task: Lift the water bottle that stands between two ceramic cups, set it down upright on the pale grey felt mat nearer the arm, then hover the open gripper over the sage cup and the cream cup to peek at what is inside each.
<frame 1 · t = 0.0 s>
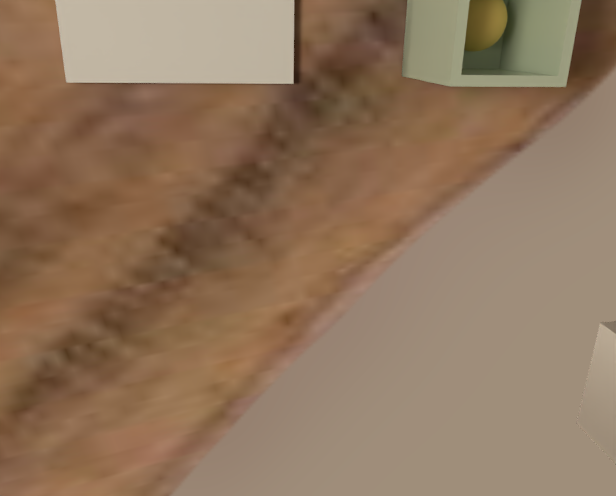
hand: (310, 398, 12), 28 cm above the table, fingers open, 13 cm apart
mustard ball: (463, 21, 36), point 1 cm above the table, touching sage cup
sage cup: (456, 21, 37), on the table
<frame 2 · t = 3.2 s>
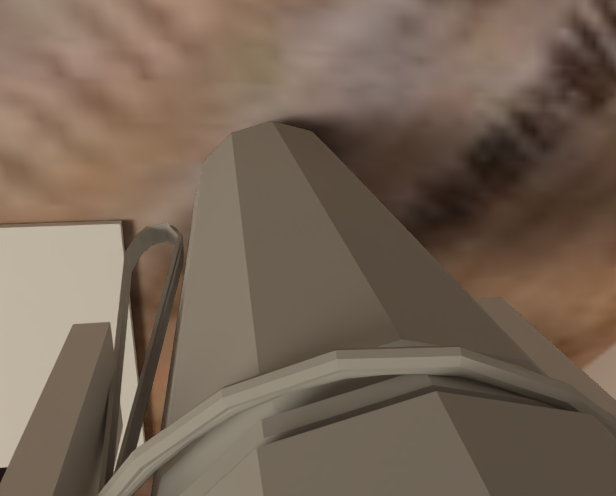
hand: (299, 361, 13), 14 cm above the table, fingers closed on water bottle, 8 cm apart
water bottle: (251, 194, 26), on the table, touching gripper
when the fingers open (16 cm above the table, at t = 8.4 s): water bottle stays where it is, resting on felt mat.
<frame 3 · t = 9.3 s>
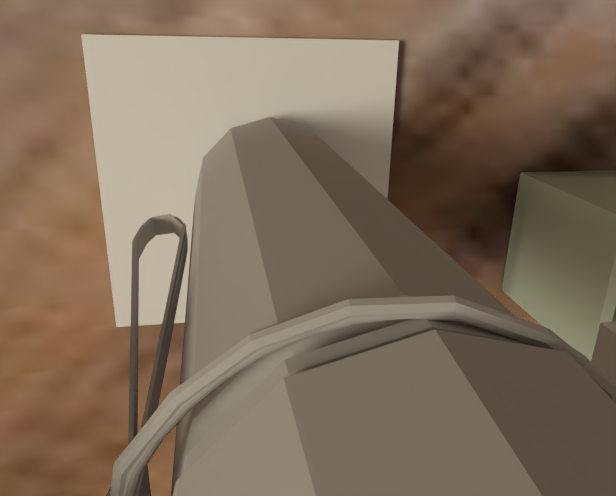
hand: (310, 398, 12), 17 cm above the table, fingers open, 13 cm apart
sage cup: (567, 231, 31), on the table
water bottle: (249, 188, 27), resting on felt mat
felt mat: (249, 188, 27), on the table
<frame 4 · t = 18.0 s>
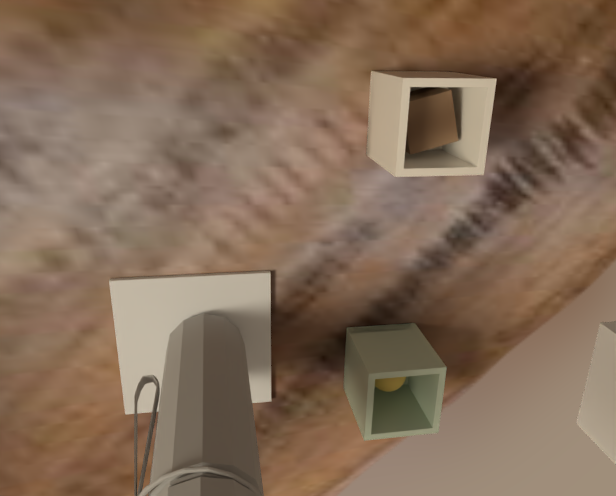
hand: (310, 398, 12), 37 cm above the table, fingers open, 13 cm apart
mustard ball: (382, 362, 55), point 1 cm above the table, touching sage cup
walnut block: (412, 115, 46), point 1 cm above the table, touching cream cup
sage cup: (378, 355, 56), on the table
water bottle: (195, 343, 51), resting on felt mat
felt mat: (196, 342, 52), on the table
cream cup: (408, 113, 47), on the table
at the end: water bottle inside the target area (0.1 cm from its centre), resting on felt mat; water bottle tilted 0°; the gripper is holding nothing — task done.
